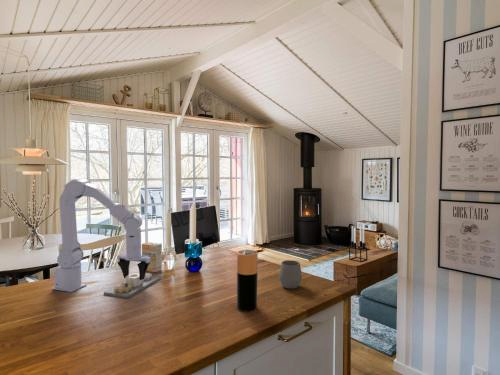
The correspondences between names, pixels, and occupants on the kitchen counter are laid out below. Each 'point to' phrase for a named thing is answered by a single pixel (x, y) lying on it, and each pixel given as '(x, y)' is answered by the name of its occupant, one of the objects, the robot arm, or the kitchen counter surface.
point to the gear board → (127, 290)
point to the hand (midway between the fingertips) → (134, 278)
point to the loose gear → (134, 279)
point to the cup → (290, 274)
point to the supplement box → (153, 255)
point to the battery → (247, 280)
